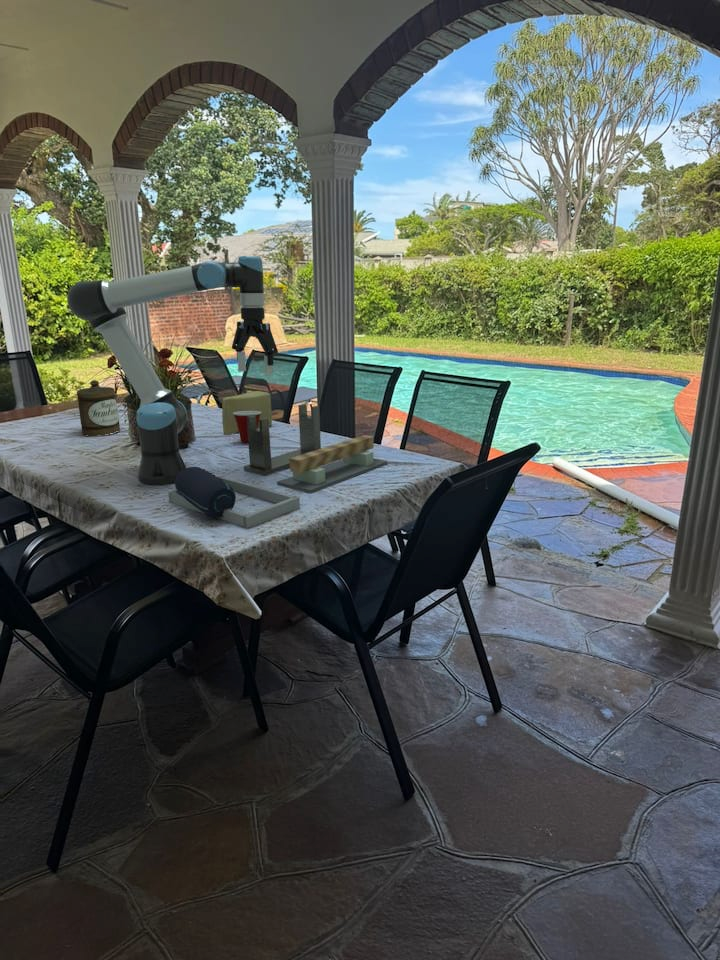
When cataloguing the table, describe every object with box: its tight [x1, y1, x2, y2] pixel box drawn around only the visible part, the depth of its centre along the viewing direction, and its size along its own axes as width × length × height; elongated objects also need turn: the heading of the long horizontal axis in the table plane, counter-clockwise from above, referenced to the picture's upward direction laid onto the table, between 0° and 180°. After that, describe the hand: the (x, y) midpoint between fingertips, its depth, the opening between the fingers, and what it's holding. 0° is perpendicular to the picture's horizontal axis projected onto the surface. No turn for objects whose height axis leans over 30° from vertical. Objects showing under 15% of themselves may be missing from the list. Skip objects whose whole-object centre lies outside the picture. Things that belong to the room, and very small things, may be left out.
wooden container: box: [76, 379, 121, 437], centre depth 265 cm, size 15×15×22 cm
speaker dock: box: [167, 475, 301, 529], centre depth 181 cm, size 19×34×3 cm, turn 51°
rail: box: [289, 434, 375, 473], centre depth 206 cm, size 36×4×4 cm, turn 141°
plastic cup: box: [233, 411, 261, 444], centre depth 248 cm, size 11×11×12 cm
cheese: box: [221, 390, 273, 435], centre depth 267 cm, size 22×10×15 cm, turn 139°
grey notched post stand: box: [243, 403, 322, 477], centre depth 218 cm, size 30×10×18 cm, turn 141°
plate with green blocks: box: [276, 450, 388, 494], centre depth 207 cm, size 38×14×5 cm, turn 141°
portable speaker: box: [174, 466, 236, 519], centre depth 177 cm, size 25×10×10 cm, turn 35°
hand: (255, 373), depth 212 cm, fingers open, 13 cm apart
